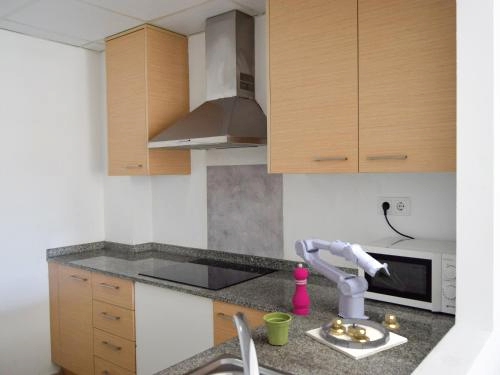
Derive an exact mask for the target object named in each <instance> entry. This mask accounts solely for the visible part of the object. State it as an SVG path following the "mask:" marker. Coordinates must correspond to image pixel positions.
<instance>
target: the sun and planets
mask: <svg viewBox="0 0 500 375" xmlns="http://www.w3.org/2000/svg"><path fill="white" fill-rule="evenodd" d="M341 318H342V317H333V318H331V320H332V325H331V326H329V333H330V334H332V335H338V336H339V335H344V334H346V327H344V326H342V319H341ZM348 336H349V337H351V341H359V342H364V341H370V338H369V337H368V336H366V329H365V328H362V327H360V326H357V323H353V325H351V326H348Z"/></svg>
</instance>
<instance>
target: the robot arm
mask: <svg viewBox="0 0 500 375" xmlns="http://www.w3.org/2000/svg"><path fill="white" fill-rule="evenodd" d="M294 249H295V253H296V255H297V256H299V257H300V258H301V259H302V260H303V261H304V262H305V263H306V265H307V266H308V267H309V268H311V269H312V270H314V271H315V272H317V273H319V274H321V275H322V276H324V277H326V278H327V279H329V280H331V281H332V282H333V283H335V284H337V285H336V286H337V287H336V288H337V289H338V290H339V291H341V294H340V296H339V298H338V314H337V316H338V315H339V316H338V317H340V316H341V317H340V318H342V317H343V318H361V319H366V320H369V319H370V317H369V316H368V315H365V294H366V292H367V290H368V289H369V288H368V287H369V283H368V281H367V279H366V278H365V277H364V276H361V275H360V276H359V275H356V274H352V273H347V272H345V271H343V270H341V269H339V268H338V267H336V266H334V265H333V264H331V263H329V262H328V261H325V260H324V259H322V258H321V250H323V251H324V250H325V251H328V252H330V254H331V255H333V256H336V257H341V258H343V259H344V260H345V261H347V262H352V263H354V264H355V265H357V267H359V268H360V269H361V270H363V271H364V272H365V273H367V274H368V275H369V276H371V277H372V280H373V281H375V282H379V283H382V284H384V285H385V286H387V287H390V288H392V289H396V290H397V291H400V292H404V291H405V289H406V288H407V287H406V285H405V284H404V283H403V282H402V281H401V280H400V278H399V277H398V275H397V273H396V272H395V271H393V270H392V271H391V272H390V271H389V270H388V264H387V263H386V262H385V263H383V264H382V263H380V261H378V260H376V259H375V258H373V257H372V256H371V255H370V254H368V253H367V252H365V251H364V249H363V247H362V245H360V244H358V243H354V244H351V243H350V242H343V241H341V239H336V240H334V241H332V242H331V241H326V240H323V239H320V238H319V237H311V238H304V239H298V240H296V241H295V243H294ZM389 272H390V273H389Z"/></svg>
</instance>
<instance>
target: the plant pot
mask: <svg viewBox="0 0 500 375" xmlns="http://www.w3.org/2000/svg"><path fill="white" fill-rule="evenodd" d="M263 320H264V322H265V325H266V331H267V337H268V343H269V344H270V345H271V344H272V345H271V346H277V345H281V346H285V345H286V344H287V343H288V337H289V330H290V327H289V326H290V323H291V320H292V316H291V315H290V314H288V313H284V312H271V313H267V314H265V315H263ZM284 344H285V345H284Z"/></svg>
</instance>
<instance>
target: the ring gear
mask: <svg viewBox="0 0 500 375" xmlns="http://www.w3.org/2000/svg"><path fill="white" fill-rule="evenodd" d="M340 318H341V319H342V325H345V324H353V323H357V325H363V326H368V327H372V328H374V329H377V330H379V331H381V332H382V333H383V334H384V336H383V337H382V338H380V339H377V340H374V341H364V342H359V341H348V340H344V339H340V338H336V337H334V336H332V335H330V334H329V333H328V332H327V331H326V330H328V329H329V326H331V325H332V319H330V320H327V321H326V322H325V323H323V324H322V326H321V327H322V336H323V337H324V339H325V340H326V341H328V342H330V343H332V344H334V345H337V346H341V347H345V348H350V349H373V348H378V347H381V346H384V345H386V344H387V343H388V342H389V341H390V333H389V332H390V330H389V329H388V328H386V327H385V326H384V325H382V323H379V322H377V321H374V320H370V319H361V318H342V317H340Z"/></svg>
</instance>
